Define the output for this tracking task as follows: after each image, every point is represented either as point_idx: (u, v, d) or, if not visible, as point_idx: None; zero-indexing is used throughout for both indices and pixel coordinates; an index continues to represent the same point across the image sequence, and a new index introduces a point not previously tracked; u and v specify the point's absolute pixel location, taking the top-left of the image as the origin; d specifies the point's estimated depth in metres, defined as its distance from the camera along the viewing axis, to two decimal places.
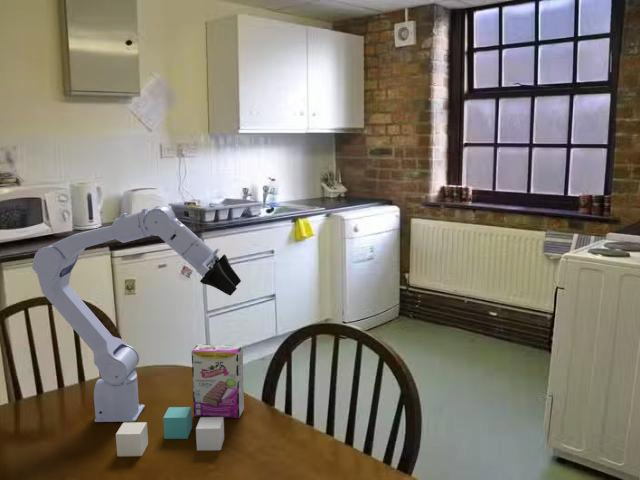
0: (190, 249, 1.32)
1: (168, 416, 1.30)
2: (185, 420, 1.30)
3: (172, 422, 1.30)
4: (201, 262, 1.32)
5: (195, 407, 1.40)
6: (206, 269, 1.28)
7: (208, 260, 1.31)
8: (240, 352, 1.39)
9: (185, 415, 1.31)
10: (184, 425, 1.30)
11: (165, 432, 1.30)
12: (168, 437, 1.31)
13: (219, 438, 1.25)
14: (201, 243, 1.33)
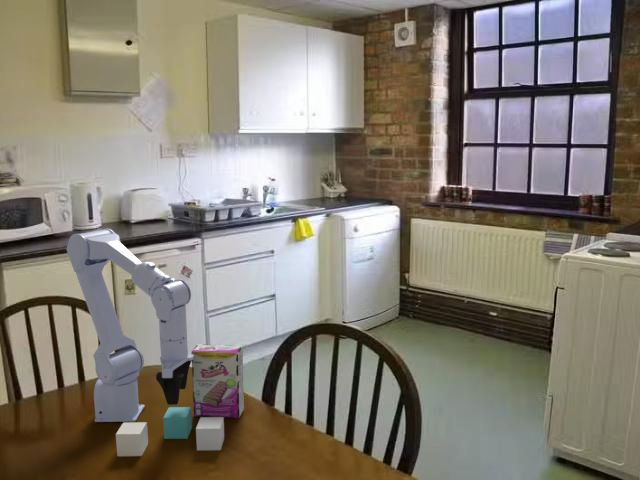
0: (172, 342, 1.26)
1: (168, 416, 1.30)
2: (185, 420, 1.30)
3: (172, 422, 1.30)
4: (171, 359, 1.27)
5: (195, 407, 1.40)
6: (170, 375, 1.23)
7: (178, 365, 1.26)
8: (240, 352, 1.39)
9: (185, 415, 1.31)
10: (184, 425, 1.30)
11: (165, 432, 1.30)
12: (168, 437, 1.31)
13: (219, 438, 1.25)
14: (185, 343, 1.28)
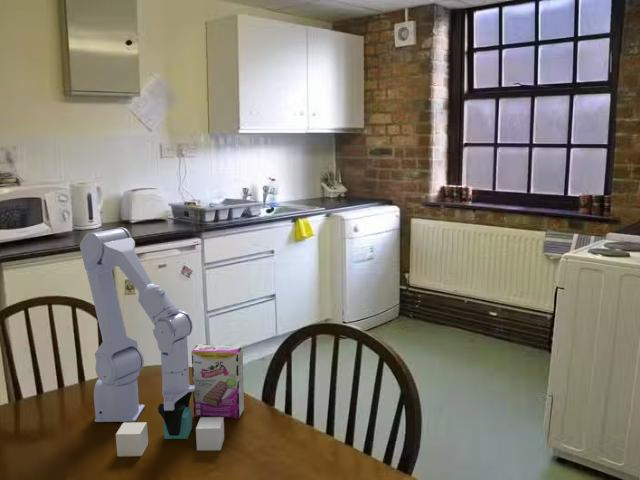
0: (174, 374, 1.28)
1: None
2: (185, 420, 1.30)
3: None
4: (172, 391, 1.28)
5: (195, 407, 1.40)
6: (172, 408, 1.24)
7: (179, 397, 1.27)
8: (240, 352, 1.39)
9: (185, 415, 1.31)
10: (184, 425, 1.30)
11: (165, 432, 1.30)
12: (168, 437, 1.31)
13: (219, 438, 1.25)
14: (186, 374, 1.30)
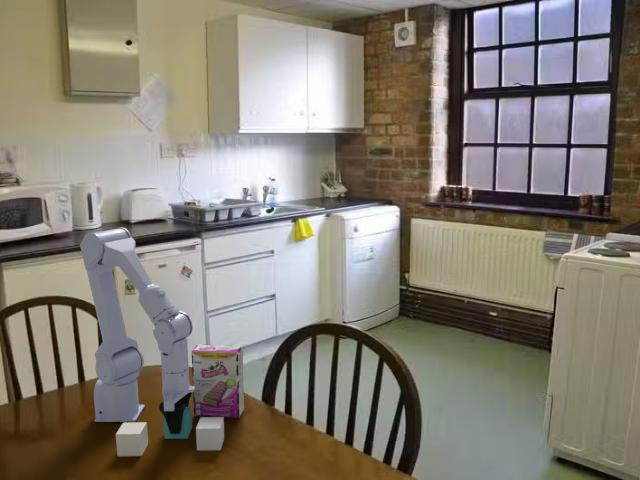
0: (174, 375, 1.28)
1: None
2: (185, 420, 1.30)
3: None
4: (172, 391, 1.28)
5: (195, 407, 1.40)
6: (172, 409, 1.24)
7: (179, 398, 1.27)
8: (240, 352, 1.39)
9: (185, 415, 1.31)
10: (184, 425, 1.30)
11: (165, 431, 1.30)
12: (168, 436, 1.31)
13: (219, 438, 1.25)
14: (186, 375, 1.30)
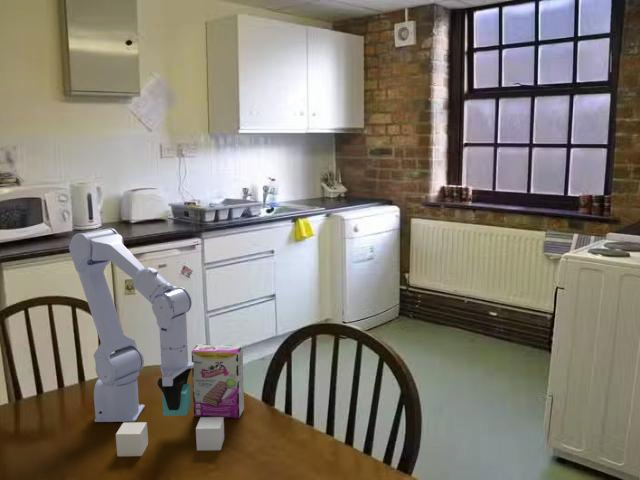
0: (173, 350, 1.27)
1: None
2: (184, 397, 1.29)
3: None
4: (171, 367, 1.27)
5: (195, 407, 1.40)
6: (170, 384, 1.23)
7: (178, 373, 1.26)
8: (240, 352, 1.39)
9: (184, 391, 1.30)
10: (183, 401, 1.29)
11: (164, 408, 1.29)
12: (167, 413, 1.30)
13: (219, 438, 1.25)
14: (185, 351, 1.29)
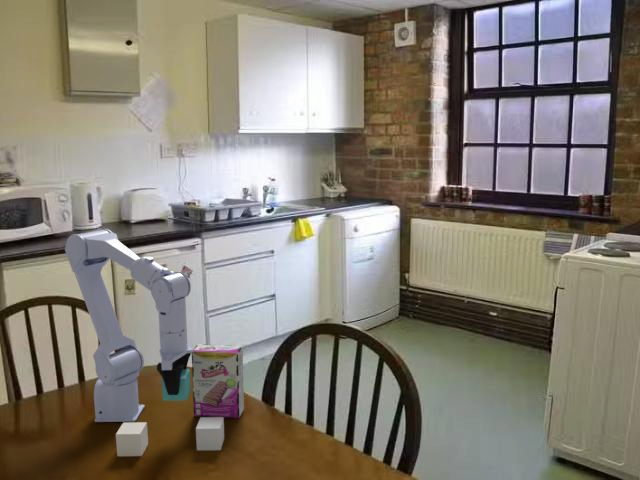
0: (172, 335, 1.26)
1: None
2: (184, 381, 1.28)
3: None
4: (170, 351, 1.27)
5: (195, 407, 1.40)
6: (170, 368, 1.23)
7: (177, 357, 1.26)
8: (240, 352, 1.39)
9: (184, 376, 1.29)
10: (182, 386, 1.29)
11: (163, 393, 1.29)
12: (166, 398, 1.29)
13: (219, 438, 1.25)
14: (184, 335, 1.28)
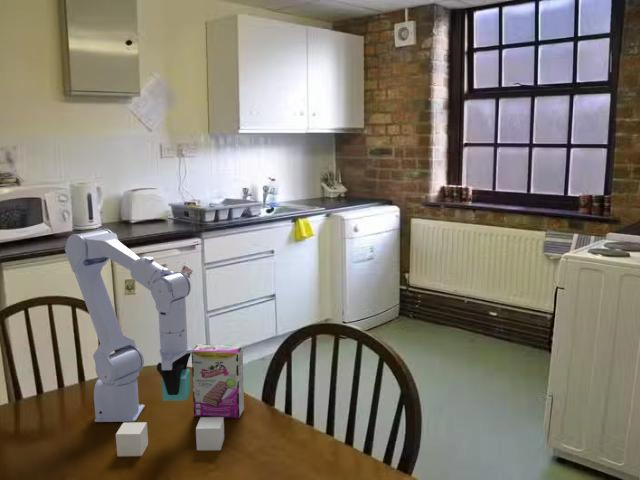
0: (172, 335, 1.26)
1: None
2: (184, 381, 1.28)
3: None
4: (170, 351, 1.27)
5: (195, 407, 1.40)
6: (170, 368, 1.23)
7: (177, 357, 1.26)
8: (240, 352, 1.39)
9: (184, 376, 1.29)
10: (182, 386, 1.29)
11: (163, 393, 1.29)
12: (166, 398, 1.29)
13: (219, 438, 1.25)
14: (184, 335, 1.28)
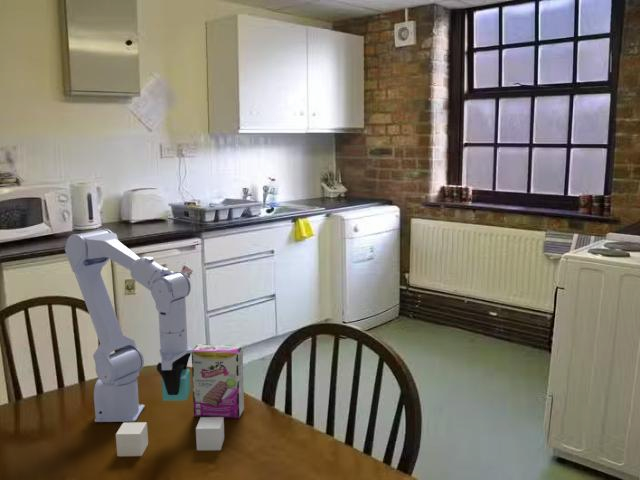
0: (172, 335, 1.26)
1: None
2: (184, 381, 1.28)
3: None
4: (170, 351, 1.27)
5: (195, 407, 1.40)
6: (170, 368, 1.23)
7: (177, 357, 1.26)
8: (240, 352, 1.39)
9: (184, 376, 1.29)
10: (182, 386, 1.29)
11: (163, 393, 1.29)
12: (166, 398, 1.29)
13: (219, 438, 1.25)
14: (184, 335, 1.28)
